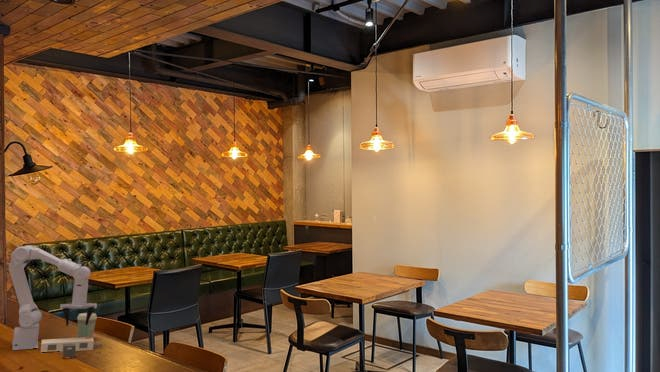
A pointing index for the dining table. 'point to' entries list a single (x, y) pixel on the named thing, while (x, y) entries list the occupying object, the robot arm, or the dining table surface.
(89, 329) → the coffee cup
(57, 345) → the power strip
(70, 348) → the charger
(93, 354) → the dining table surface
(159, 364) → the dining table surface
